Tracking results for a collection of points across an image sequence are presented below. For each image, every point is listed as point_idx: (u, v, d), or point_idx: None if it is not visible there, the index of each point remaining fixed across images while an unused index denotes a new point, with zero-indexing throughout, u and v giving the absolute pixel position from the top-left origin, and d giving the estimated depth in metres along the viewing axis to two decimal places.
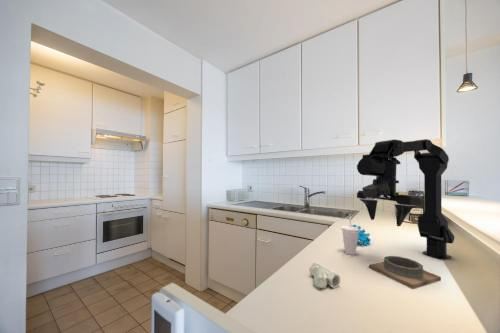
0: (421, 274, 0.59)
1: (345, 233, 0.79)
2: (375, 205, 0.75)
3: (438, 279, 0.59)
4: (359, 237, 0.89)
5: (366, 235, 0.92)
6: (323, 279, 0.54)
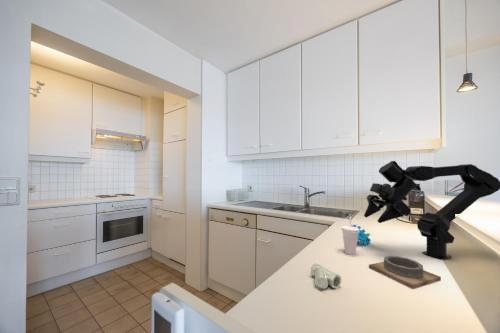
0: (421, 274, 0.59)
1: (345, 233, 0.79)
2: (376, 210, 0.84)
3: (438, 279, 0.59)
4: (359, 237, 0.89)
5: (366, 235, 0.92)
6: (324, 279, 0.54)
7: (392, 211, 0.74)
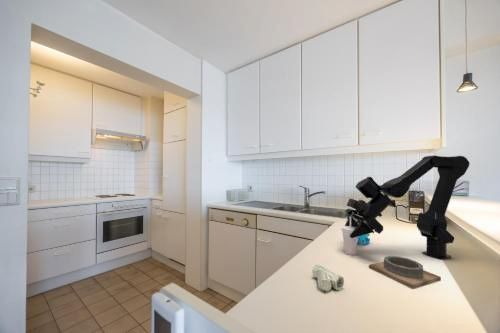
0: (421, 274, 0.59)
1: (345, 233, 0.79)
2: (354, 226, 0.83)
3: (438, 279, 0.59)
4: (358, 237, 0.90)
5: (366, 235, 0.92)
6: (327, 281, 0.53)
7: (364, 227, 0.75)
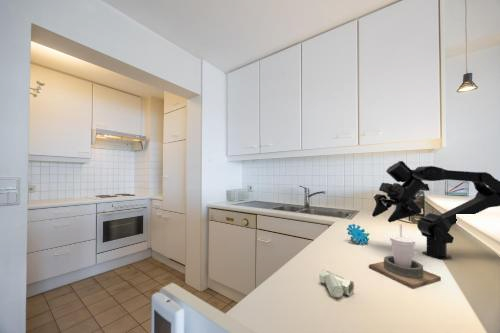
0: (421, 274, 0.59)
1: (403, 247, 0.62)
2: (383, 210, 0.85)
3: (438, 279, 0.59)
4: (356, 236, 0.91)
5: (365, 234, 0.93)
6: (339, 287, 0.51)
7: (402, 210, 0.74)
